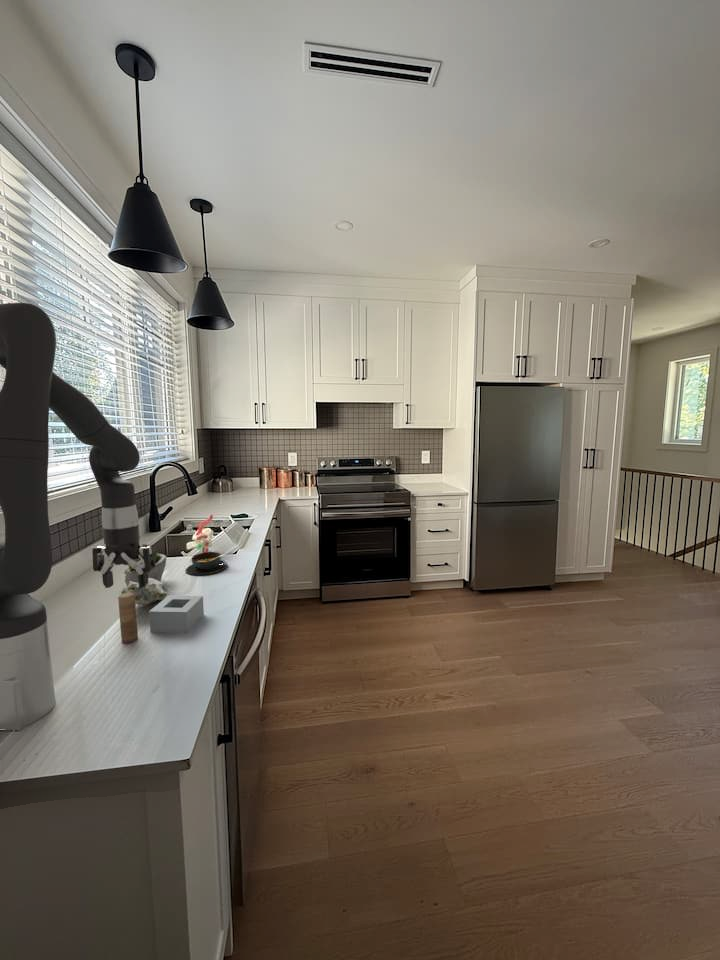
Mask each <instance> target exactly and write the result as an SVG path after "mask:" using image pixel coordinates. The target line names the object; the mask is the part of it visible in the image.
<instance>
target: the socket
mask: <svg viewBox="0 0 720 960" xmlns="http://www.w3.org/2000/svg"><path fill="white" fill-rule="evenodd" d="M204 608H205V607H204V596H203V595H167V596H166V597H164V599H161V601H160V602H159V603H157V604H156V605H154V607H153V608H151V609H150V610H149V611H148V615H149V616H148V617H149V618H148V619H149V630H150V632H149V633H172V634H173V633H177V634H179V633H182V634H183V633H184V634H185V633H187V634H188V633H189V632H190V631H191V630H192V629H193V628H194V627H195V625H196V624H197V623H198V622H199V621H200V620H201V619H202V618H203V617H204V616H205V613H204V612H205V611H204V610H205V609H204Z"/></svg>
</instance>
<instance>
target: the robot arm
mask: <svg viewBox="0 0 720 960" xmlns="http://www.w3.org/2000/svg"><path fill="white" fill-rule="evenodd" d="M56 351H57V335H56V329H55V326H54V323H53V322H52V319H51V318H50V316H49V315H48V314H47V312H45V310H43V309H42V308H41V307H39V306H38V305H35V304H32V303H29V302H27V303H26V302H10V303H9V302H7V303H0V366H1V367H2V368H3V369H5V376H4V381H3V384H2V386H1V389H0V509H1V511H2V515H3V519H4V520H3V521H4V531H5V532H4V539H0V729H5V730H17V731H16V732H19V730H20V731H21V730H22V729H24V728H25V727H27V726H29V725H31V724H33V723H35V722H37V721H39V720H41V719H43V718H44V717H45V716H46V715H48V714H49V713H50V712H51V711H52V710H53V709H54V707H55V706H56V694H55V683H54V674H53V664H52V655H51V647H50V637H49V627H48V619H47V618H48V615H47V610H46V609H47V608H46V606H45V605H44V604H43V603H42V602H40V601H39V600H37V599H35V598H34V597H32V596H31V595H30V594H32V593H35V592H37V591H38V590H40V589H41V588H43V586H44V585H45V584H46V582H47V581H48V579H49V576H50V575H51V572H52V568H53V546H52V538H51V537H52V536H51V527H50V520H49V519H50V518H49V502H48V501H49V500H48V499H49V497H48V496H49V495H48V493H49V491H48V472H49V452H50V451H49V450H50V449H49V448H50V447H49V446H50V445H49V443H50V440H49V438H50V437H49V416H50V410H51V411H52V412H53V413H54V414H55V415H56V416H57V417H58V419H60V421H61V422H62V423H63V424H64V425H65V426H66V427H67V428H68V430H69V431H70V432H71V433H72V434H73V435H74V437H75V438H76V439H77V440H78V441H79V442H81V443H82V444H84V445H87V446H92V447H91V448H90V451H89V455H88V460H89V465H90V468H91V471H92V474H93V476H94V480H95V482H96V483H97V485H98V488H99V490H100V497H101V500H100V501H101V524H102V525H101V527H102V535H103V543H104V545H105V546H104V545H103V544H101V545H98V546H95V547H93V548H92V569H93V571H94V572H100V573H101V577H102V584H103V586H104V588H105V589H109V588H111V587H112V586H114V575H113V571H112V569H113V568H114V566H120V565H124V566H128V565H130V566H131V567H132V568H135V569H136V571H137V572H138V573H139V574H138V582H139V588H144V587H145V586H146V585H147V584H148V572H149V571H151V570H152V569H154V568H155V567H156V566H155V559H154V552H153V547H154V546H151V545H147V546H148V547H141V544H140V540H141V539H140V526H139V514H138V509H137V502H136V493H135V485H134V484H133V482H131V481H128V480H126V479H124V478H122V477H121V473H120V472H130V471H133V470H134V469H136V468H137V467H138V465H139V463H140V462H141V461H140V459H141V456H140V452H139V449H138V448H137V446H136V445H135V444H134V442H133V441H132V440H131V439H129V438H128V437H127V436H126V435H125V434H124V433H122V432H121V431H120V430H119V429H118V428H116V427H115V426H113V425H112V424H110V422H109V421H108V420H107V419H106V416H105V415H103V413H102V411H101V410H100V409H99V408H98V407H97V406H96V404H95V403H94V402H93V401H92V400H91V398H89V397H88V396H87V395H86V394H85V393H83V392H82V391H80V390H79V389H77V388H76V387H75V386H73V384H71V383H70V382H68V381H66V380H64V379H63V378H62V377H60V376H59V375H58V374H56V373H55V372H54V365H55V360H56V359H55V358H56ZM140 552H141V553H142V556H143V557H144V560H143V559H142V557H141V556H140V555H139V554H140ZM105 555H106V556H107V559H106V561H105ZM135 560H137V562H135Z"/></svg>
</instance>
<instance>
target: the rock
mask: <svg viewBox="0 0 720 960" xmlns="http://www.w3.org/2000/svg"><path fill="white" fill-rule="evenodd" d="M163 586H164V582H162V581H158V580H155V579H153V578H149V579H148V584H147V585H146V586H145V587H144V588H139V583H136V582H132V581H129V584H128V586H127V585H126V587H125V588H122V590H121V591H120V595H122V594H126V593H134V594H135V603H136V605H137V606H141V607H144V606H147V605H151V604H153V603H155V602H156V601H158V600H159V601H160V600H164V599H165V598H166V597H167V596H168V592H167V591H165V590H164V588H163Z"/></svg>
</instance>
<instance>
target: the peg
mask: <svg viewBox="0 0 720 960" xmlns="http://www.w3.org/2000/svg"><path fill="white" fill-rule="evenodd" d="M117 599H118V610H119V611H118V614H119V625H120V636H121V637H120V638H121V644H123V645H127V644H132V643H135V642H137V641H138V640H139V634H138V620H137V617H138V616H137V604H136V603H135V594H134V593H126V594H122V595H121V594H120V595H119V596H118V598H117Z"/></svg>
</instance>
